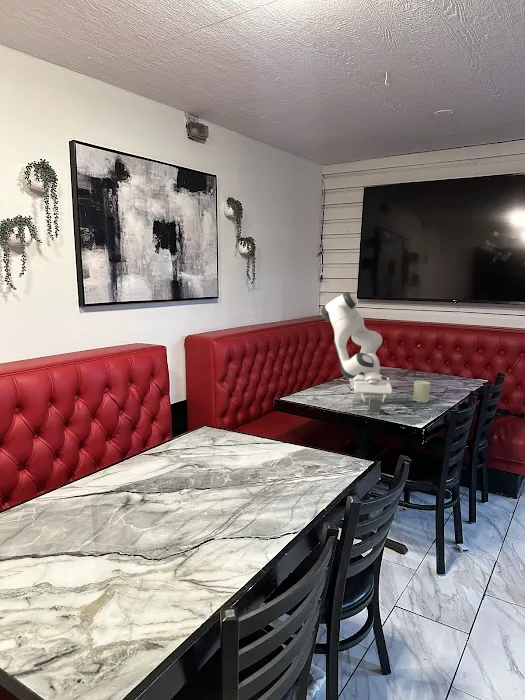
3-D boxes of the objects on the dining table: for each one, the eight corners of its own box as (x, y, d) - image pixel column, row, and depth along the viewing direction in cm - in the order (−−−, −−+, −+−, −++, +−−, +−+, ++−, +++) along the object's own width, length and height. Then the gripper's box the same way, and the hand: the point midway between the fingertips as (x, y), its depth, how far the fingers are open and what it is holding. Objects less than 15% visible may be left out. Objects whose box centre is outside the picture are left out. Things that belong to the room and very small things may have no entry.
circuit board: (375, 406, 260) (376, 400, 259) (400, 405, 262) (401, 400, 261) (388, 414, 243) (388, 409, 243) (414, 414, 245) (415, 408, 245)
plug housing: (368, 412, 248) (369, 394, 246) (379, 412, 247) (380, 394, 246) (369, 414, 244) (370, 396, 242) (380, 414, 243) (381, 396, 242)
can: (409, 400, 273) (410, 380, 271) (420, 398, 277) (422, 379, 275) (420, 404, 265) (421, 383, 263) (432, 402, 269) (433, 382, 267)
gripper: (353, 376, 252) (354, 397, 244) (391, 377, 250) (393, 399, 242) (352, 382, 258) (353, 403, 249) (390, 384, 255) (391, 405, 247)
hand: (373, 401), depth 246 cm, fingers open, 8 cm apart
